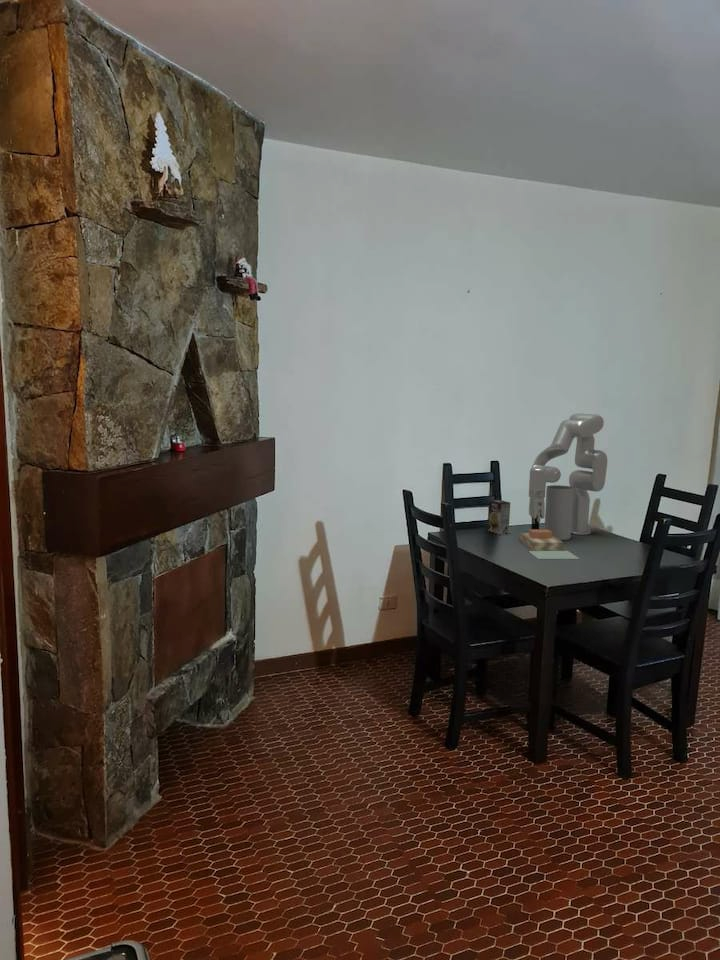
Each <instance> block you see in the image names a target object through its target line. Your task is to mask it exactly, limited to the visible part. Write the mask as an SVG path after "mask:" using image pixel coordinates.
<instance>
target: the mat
mask: <svg viewBox="0 0 720 960" xmlns="http://www.w3.org/2000/svg"><path fill="white" fill-rule="evenodd" d="M528 552H529V554H531V555H533V557H535V558H536V559H537V560H580V557H578V556H576V555H574V554H573V553H572V552H570V551H569V550H563V551H531V550H528Z"/></svg>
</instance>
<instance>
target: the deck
mask: <svg viewBox="0 0 720 960" xmlns="http://www.w3.org/2000/svg"><path fill="white" fill-rule="evenodd" d="M519 542H520V543H521V544H522V545H523V546H525V547H526V548H527V549H529V551H564V542H563V540H559V539H557V538H556V537H554V536H553V535H552V539H533V538H531V537H530V536H529V532H519Z"/></svg>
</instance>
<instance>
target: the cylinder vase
mask: <svg viewBox="0 0 720 960" xmlns="http://www.w3.org/2000/svg"><path fill="white" fill-rule="evenodd" d="M573 489H574V488H573V487H570V485H560V484H559V485H557V484H555V485H546V489H545V517H544V528H543V529H548V530H550V531H551V532H552V535H553V536H554V537H556V538H557V539H559V540H560V541H569V540H571V537H572V534H571V523H572V506H573Z"/></svg>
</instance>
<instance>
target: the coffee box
mask: <svg viewBox="0 0 720 960" xmlns="http://www.w3.org/2000/svg"><path fill="white" fill-rule="evenodd" d="M488 507H489V508H488V509H489V510H488V526H487V528H488V529H487V530H488V532H489V531H491V532H490V533H492V532H494V533H493V534H495V533H497V534H496V535H499V534H502V535H505V534H504V533H510V515H511V502H510V501H505V500H501V499H490V500H489V506H488Z"/></svg>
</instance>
